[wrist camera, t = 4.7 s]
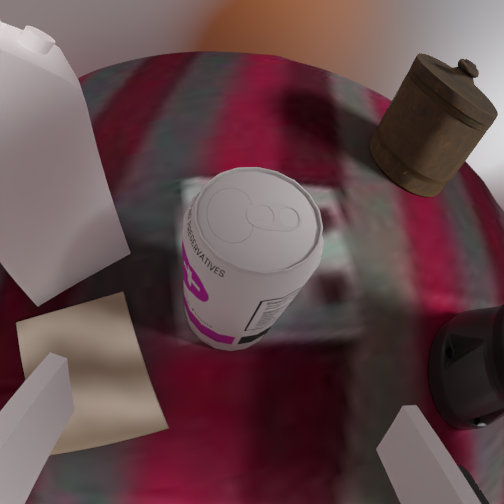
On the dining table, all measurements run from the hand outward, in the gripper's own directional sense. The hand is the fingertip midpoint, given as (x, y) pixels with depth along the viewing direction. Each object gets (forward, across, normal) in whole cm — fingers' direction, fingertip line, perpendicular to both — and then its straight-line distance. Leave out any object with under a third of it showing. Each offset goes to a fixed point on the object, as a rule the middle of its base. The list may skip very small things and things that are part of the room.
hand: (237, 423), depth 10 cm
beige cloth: (+12, +12, +11) cm, 20 cm away
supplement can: (+19, 0, +4) cm, 19 cm away
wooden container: (+40, -26, -17) cm, 50 cm away
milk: (+22, +19, +1) cm, 29 cm away
